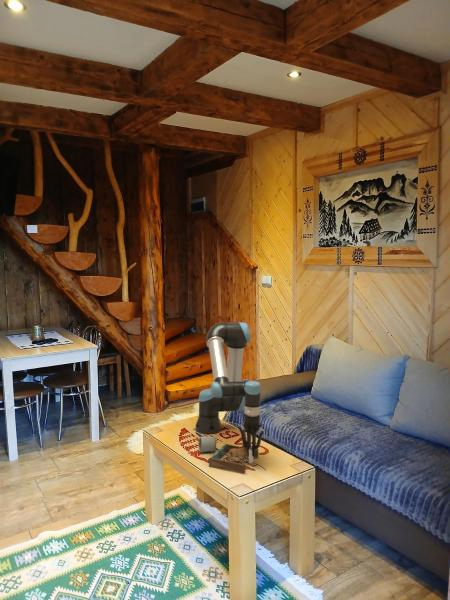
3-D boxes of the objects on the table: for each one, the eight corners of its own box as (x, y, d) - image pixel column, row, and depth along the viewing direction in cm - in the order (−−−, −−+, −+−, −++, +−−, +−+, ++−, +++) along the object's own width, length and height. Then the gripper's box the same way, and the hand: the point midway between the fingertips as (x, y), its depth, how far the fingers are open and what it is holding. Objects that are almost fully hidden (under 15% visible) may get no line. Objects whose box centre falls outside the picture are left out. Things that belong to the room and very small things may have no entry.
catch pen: (225, 451, 242) (225, 443, 242) (258, 457, 235) (258, 449, 235) (208, 466, 223) (209, 458, 223) (244, 473, 217) (244, 465, 216)
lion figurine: (251, 462, 232) (248, 444, 237) (256, 459, 228) (252, 440, 233) (225, 464, 226) (221, 446, 230) (229, 461, 222) (226, 442, 226)
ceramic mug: (216, 453, 239) (217, 438, 239) (201, 454, 237) (201, 439, 237) (212, 445, 249) (212, 431, 249) (197, 447, 247) (197, 432, 247)
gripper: (236, 414, 223) (235, 462, 225) (262, 418, 219) (261, 467, 220) (242, 410, 230) (241, 456, 232) (267, 413, 225) (266, 461, 227)
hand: (251, 461), depth 226 cm, fingers closed
